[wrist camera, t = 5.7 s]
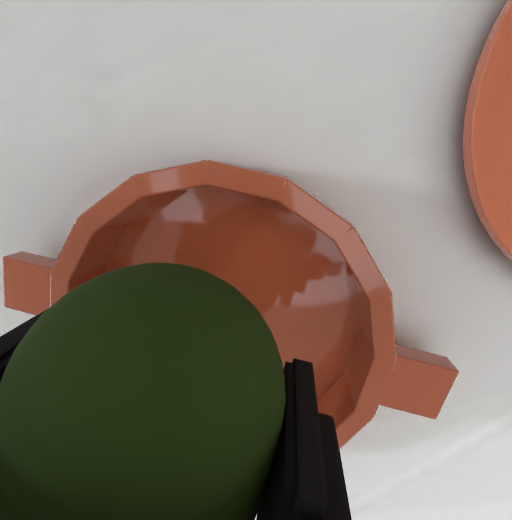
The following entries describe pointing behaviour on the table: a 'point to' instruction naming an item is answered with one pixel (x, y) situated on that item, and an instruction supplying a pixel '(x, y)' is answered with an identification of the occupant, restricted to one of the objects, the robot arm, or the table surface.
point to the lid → (492, 134)
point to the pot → (255, 278)
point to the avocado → (142, 402)
